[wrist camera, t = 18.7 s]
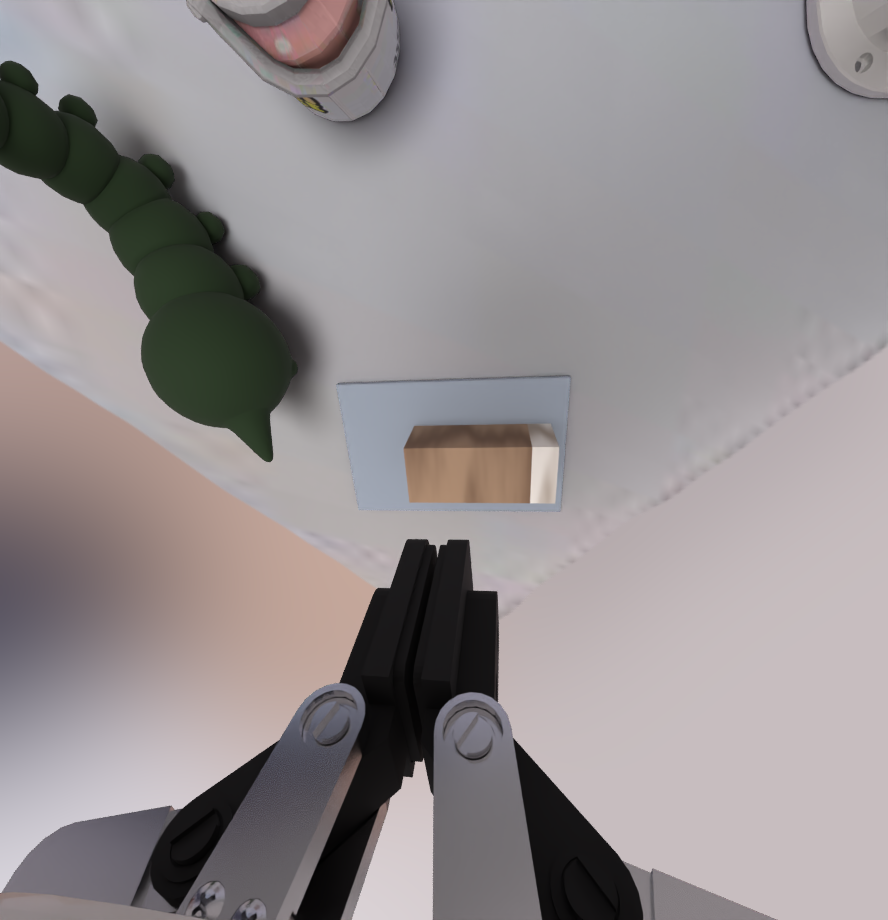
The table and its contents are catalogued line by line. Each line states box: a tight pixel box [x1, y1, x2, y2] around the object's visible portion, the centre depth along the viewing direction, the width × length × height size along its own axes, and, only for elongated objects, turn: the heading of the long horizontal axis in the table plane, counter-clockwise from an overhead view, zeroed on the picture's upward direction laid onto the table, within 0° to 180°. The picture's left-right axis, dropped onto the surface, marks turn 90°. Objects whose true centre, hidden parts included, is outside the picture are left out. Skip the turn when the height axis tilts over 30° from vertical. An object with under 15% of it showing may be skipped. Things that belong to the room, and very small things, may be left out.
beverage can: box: [186, 0, 400, 121], centre depth 21 cm, size 9×8×12 cm
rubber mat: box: [336, 376, 571, 512], centre depth 37 cm, size 20×13×1 cm, turn 93°
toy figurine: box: [0, 61, 298, 462], centre depth 25 cm, size 9×19×25 cm
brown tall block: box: [403, 423, 559, 504], centre depth 34 cm, size 5×5×12 cm
